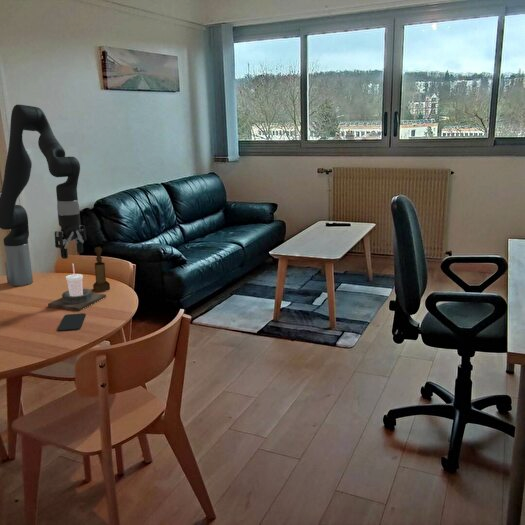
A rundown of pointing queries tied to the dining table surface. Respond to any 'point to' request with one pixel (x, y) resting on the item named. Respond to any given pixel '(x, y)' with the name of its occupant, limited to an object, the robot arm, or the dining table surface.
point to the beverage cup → (75, 283)
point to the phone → (71, 322)
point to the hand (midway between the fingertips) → (72, 255)
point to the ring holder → (76, 300)
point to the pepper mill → (100, 273)
